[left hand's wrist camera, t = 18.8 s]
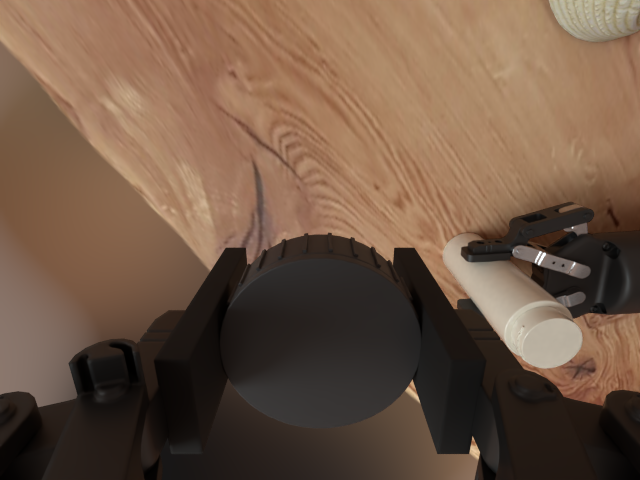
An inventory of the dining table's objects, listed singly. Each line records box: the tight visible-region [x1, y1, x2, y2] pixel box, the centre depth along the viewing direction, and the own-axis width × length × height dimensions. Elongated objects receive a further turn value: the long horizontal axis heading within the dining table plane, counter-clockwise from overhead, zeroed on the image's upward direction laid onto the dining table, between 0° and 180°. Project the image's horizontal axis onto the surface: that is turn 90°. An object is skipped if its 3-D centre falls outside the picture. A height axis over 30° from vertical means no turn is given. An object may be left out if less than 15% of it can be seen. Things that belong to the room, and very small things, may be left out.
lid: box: [219, 233, 422, 428], centre depth 11 cm, size 6×6×2 cm
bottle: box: [443, 233, 582, 368], centre depth 33 cm, size 5×5×16 cm
